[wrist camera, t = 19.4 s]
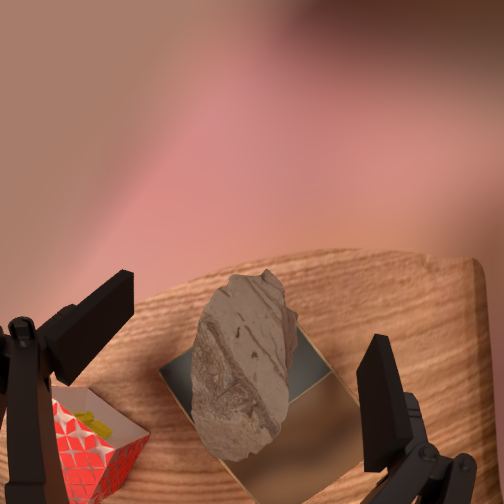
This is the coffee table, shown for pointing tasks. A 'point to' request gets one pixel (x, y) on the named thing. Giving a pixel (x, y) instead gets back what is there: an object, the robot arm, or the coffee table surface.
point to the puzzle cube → (93, 444)
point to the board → (292, 429)
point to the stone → (242, 366)
